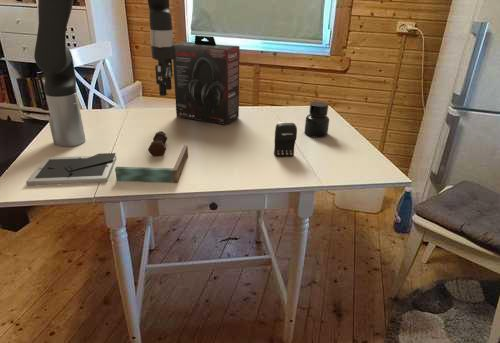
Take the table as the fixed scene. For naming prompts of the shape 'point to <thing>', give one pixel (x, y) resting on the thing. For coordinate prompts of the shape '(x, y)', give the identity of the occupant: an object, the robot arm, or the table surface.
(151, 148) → the bolt
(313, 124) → the ink bottle
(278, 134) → the battery charger
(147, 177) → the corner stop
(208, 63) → the headset box
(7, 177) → the table surface
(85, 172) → the picture frame
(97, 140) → the table surface
